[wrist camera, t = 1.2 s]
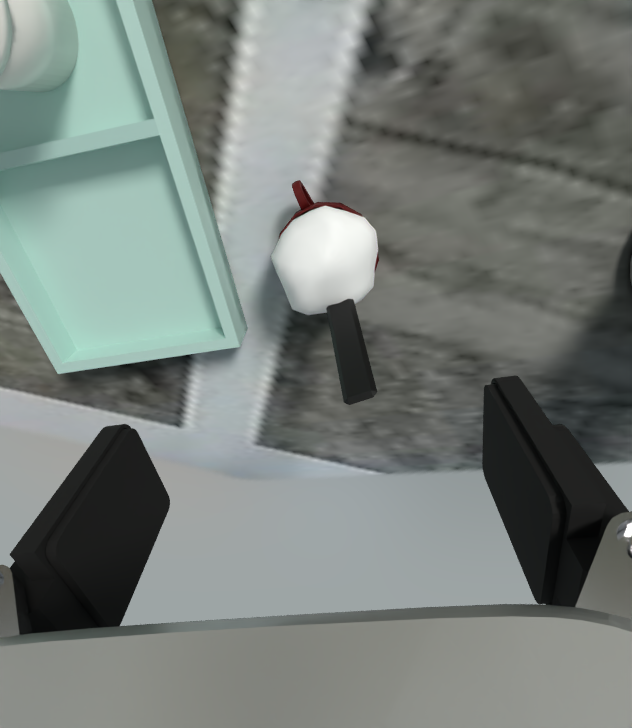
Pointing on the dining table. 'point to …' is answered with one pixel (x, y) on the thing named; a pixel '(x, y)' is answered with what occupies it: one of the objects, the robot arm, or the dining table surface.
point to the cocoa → (331, 279)
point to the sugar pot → (36, 44)
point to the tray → (112, 206)
